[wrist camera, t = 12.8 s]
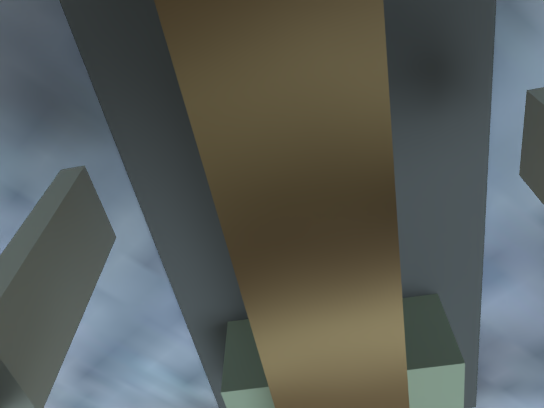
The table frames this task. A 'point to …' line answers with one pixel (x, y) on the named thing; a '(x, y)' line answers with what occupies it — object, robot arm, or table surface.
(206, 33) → the rail
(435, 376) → the plate with green blocks
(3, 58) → the table surface
